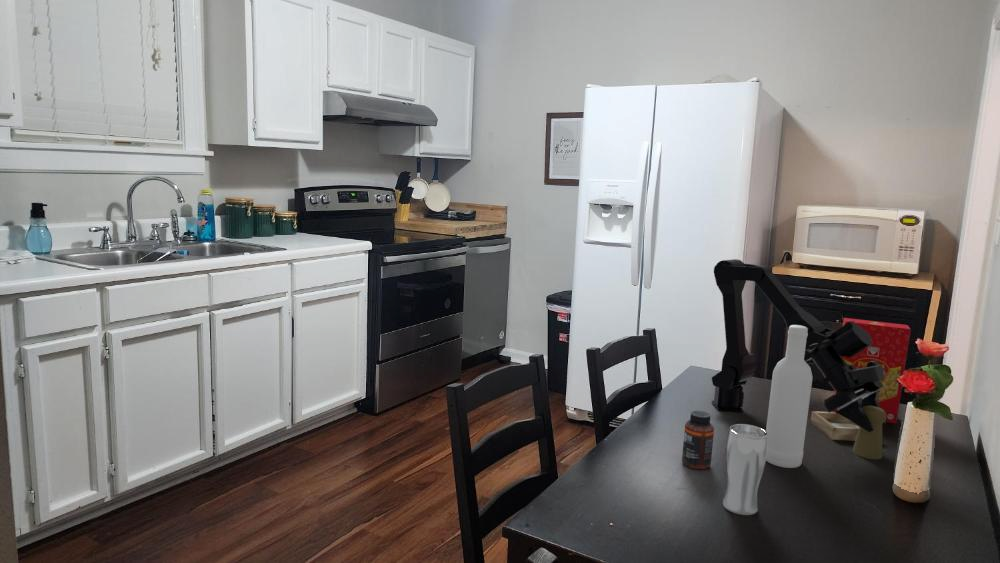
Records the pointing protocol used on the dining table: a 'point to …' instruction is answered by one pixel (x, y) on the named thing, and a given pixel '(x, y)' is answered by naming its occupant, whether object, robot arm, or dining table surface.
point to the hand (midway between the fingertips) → (877, 428)
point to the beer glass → (744, 467)
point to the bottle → (789, 403)
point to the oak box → (835, 425)
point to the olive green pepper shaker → (871, 434)
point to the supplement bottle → (698, 441)
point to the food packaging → (884, 360)
